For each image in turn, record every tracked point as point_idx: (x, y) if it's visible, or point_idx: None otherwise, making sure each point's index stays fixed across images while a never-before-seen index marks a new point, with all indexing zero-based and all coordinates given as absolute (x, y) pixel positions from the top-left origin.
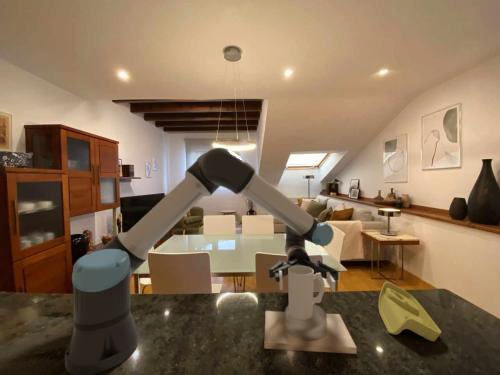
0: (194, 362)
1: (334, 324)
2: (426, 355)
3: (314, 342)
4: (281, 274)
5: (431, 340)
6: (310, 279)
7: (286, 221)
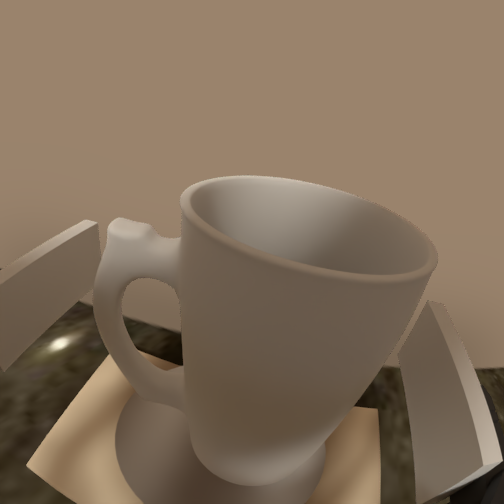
0: None
1: (92, 434)
2: None
3: None
4: (463, 373)
5: None
6: (249, 215)
7: None
